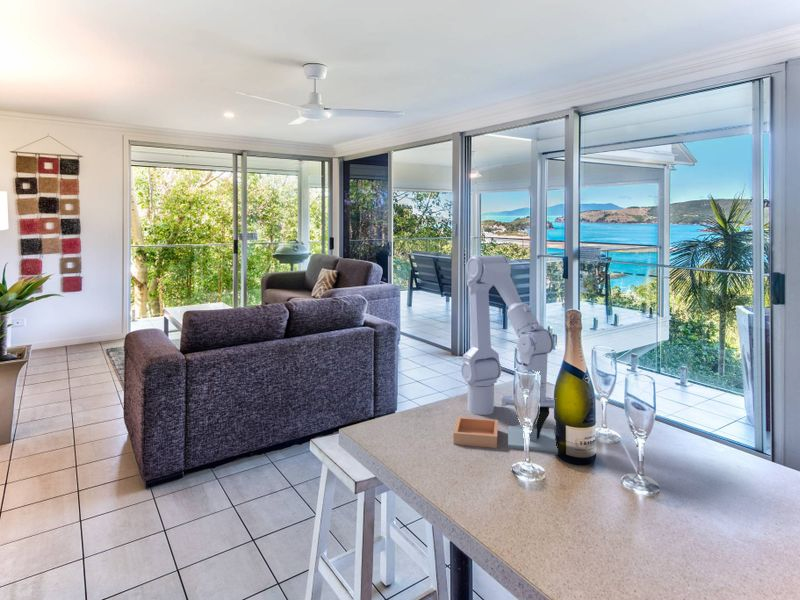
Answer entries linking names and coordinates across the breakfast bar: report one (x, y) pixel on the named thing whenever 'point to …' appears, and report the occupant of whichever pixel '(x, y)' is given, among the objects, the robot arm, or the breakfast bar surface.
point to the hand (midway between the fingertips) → (531, 435)
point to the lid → (532, 439)
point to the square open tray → (476, 432)
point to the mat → (533, 451)
